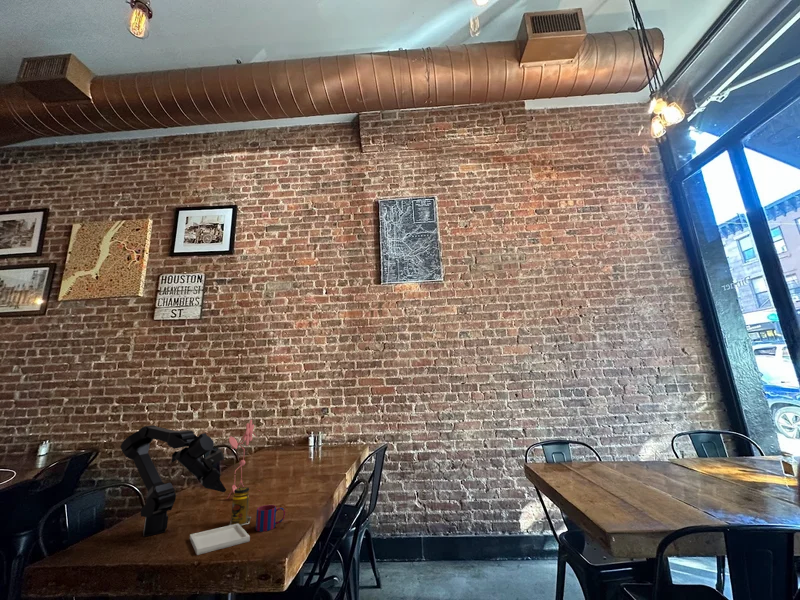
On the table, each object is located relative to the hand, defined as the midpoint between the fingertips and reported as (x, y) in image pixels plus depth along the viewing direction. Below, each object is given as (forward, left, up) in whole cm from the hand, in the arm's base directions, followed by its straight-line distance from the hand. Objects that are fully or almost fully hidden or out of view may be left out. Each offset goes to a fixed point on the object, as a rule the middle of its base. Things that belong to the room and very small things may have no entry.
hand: (222, 488), depth 137 cm
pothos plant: (+18, +36, -13) cm, 43 cm away
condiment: (+7, 0, -13) cm, 15 cm away
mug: (+14, -14, -13) cm, 24 cm away
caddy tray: (-3, -14, -13) cm, 19 cm away
